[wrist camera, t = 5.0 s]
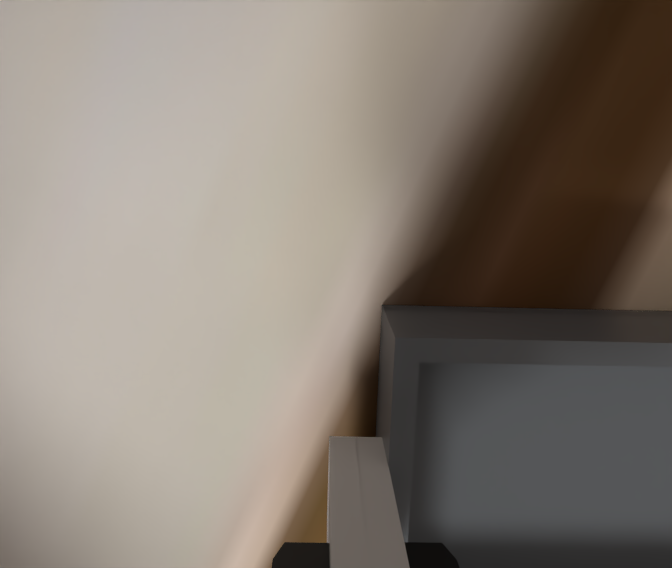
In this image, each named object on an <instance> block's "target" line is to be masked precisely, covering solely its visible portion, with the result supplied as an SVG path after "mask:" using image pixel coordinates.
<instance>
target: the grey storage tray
mask: <svg viewBox="0 0 672 568" xmlns="http://www.w3.org/2000/svg"><path fill="white" fill-rule="evenodd" d="M376 437H382V439H383V444H384V449H385V454H386V458H387V463H388V467H389V471H390V475H391V480H392V485H393V490H394V495H395V499H396V504H397V509H398V514H399V519H400V523H401V528H402V533H403V538H404V542H425V543H443V544H444V546H445V547H446V548H447V549H448V550H449V551H450V552H451V554H452V555H453V556H454V557H455V558H456V559H457V562H458V565H459V568H672V311H633V310H587V309H542V308H496V307H450V306H405V305H382V313H381V334H380V355H379V376H378V397H377V418H376Z"/></svg>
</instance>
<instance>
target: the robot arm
mask: <svg viewBox="0 0 672 568" xmlns="http://www.w3.org/2000/svg"><path fill="white" fill-rule="evenodd" d="M272 568H459V565H458V562H457V559H456V558H455V557H454V556H453V555H452V554H451V552H450V551H449V550H448V549H447V548H446V547H445V546H444V544H443V543H425V542H404V538H403V533H402V528H401V523H400V519H399V514H398V509H397V504H396V499H395V495H394V490H393V485H392V480H391V475H390V471H389V467H388V463H387V458H386V454H385V449H384V444H383V439H382V437H340V436H329V470H328V506H327V543H289V542H285V543H284V544H283V545H282V547H281V548H280V550H279V551H278V553H277V554H276V555H275V557H274V558H273V562H272Z"/></svg>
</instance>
